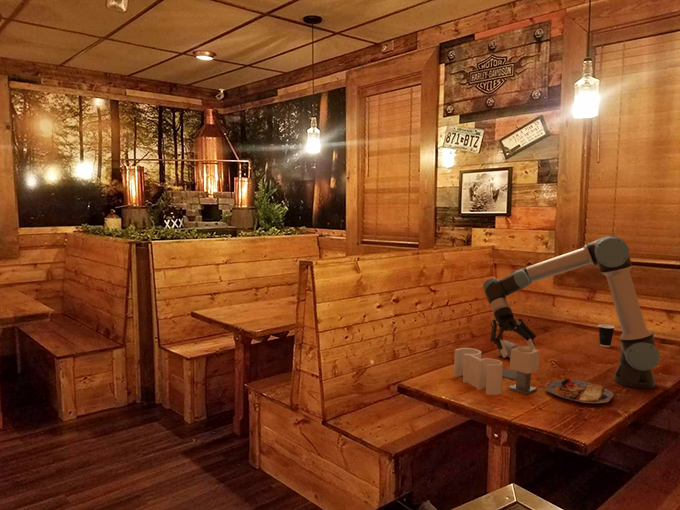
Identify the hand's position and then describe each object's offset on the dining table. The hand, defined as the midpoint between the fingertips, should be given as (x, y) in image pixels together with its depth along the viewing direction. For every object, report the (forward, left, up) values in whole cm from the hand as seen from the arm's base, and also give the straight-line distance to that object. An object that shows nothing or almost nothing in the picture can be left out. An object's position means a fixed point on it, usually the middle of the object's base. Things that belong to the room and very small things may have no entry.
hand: (520, 355), depth 210 cm
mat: (+12, -13, -14) cm, 22 cm away
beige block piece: (-2, 0, -5) cm, 6 cm away
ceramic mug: (+26, -39, -14) cm, 49 cm away
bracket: (+13, +9, -14) cm, 21 cm away
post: (-2, 0, -14) cm, 14 cm away
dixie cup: (+4, -99, -14) cm, 100 cm away
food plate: (-19, -13, -14) cm, 27 cm away
